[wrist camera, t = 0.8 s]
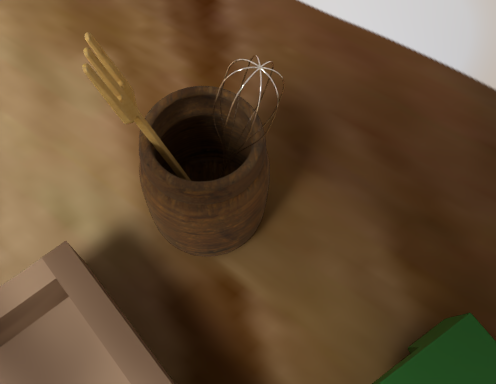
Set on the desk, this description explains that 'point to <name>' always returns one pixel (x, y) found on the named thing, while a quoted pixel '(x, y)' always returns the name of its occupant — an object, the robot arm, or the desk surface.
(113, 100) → the utensil holder
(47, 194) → the desk surface
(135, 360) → the socket block
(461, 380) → the clamp
